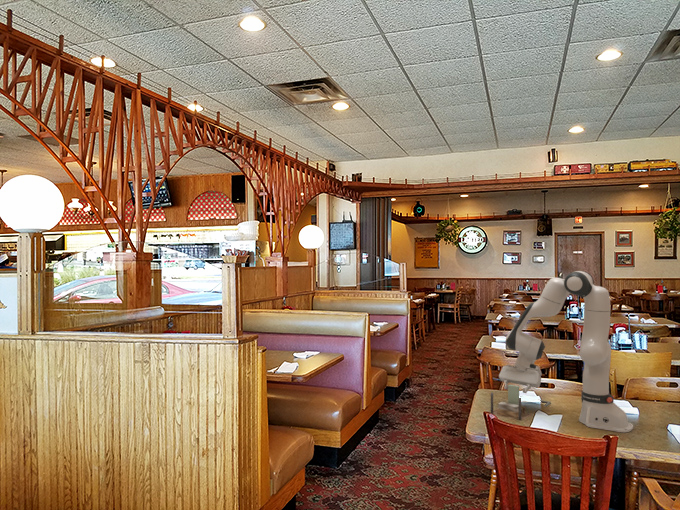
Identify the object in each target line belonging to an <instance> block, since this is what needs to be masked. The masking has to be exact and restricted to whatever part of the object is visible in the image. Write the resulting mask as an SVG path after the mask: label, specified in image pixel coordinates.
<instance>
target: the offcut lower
mask: <svg viewBox="0 0 680 510" xmlns="http://www.w3.org/2000/svg"><path fill="white" fill-rule="evenodd" d="M496 410H497V414H500V415H505V416H509V417H514V418H518V417H519V411H518V412H511V411H507V410H502V409H498V407H497V408H496Z"/></svg>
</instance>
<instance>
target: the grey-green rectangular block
mask: <svg viewBox="0 0 680 510" xmlns="http://www.w3.org/2000/svg"><path fill="white" fill-rule="evenodd" d="M507 385H508V390H507V403H510V404H515V405H519V396H520V385H516V384H507Z"/></svg>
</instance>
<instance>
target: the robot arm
mask: <svg viewBox="0 0 680 510" xmlns="http://www.w3.org/2000/svg"><path fill="white" fill-rule="evenodd" d="M594 282H595V281H594V278H593V276H592V275H591V274H590V273H589V272H587V271H584V270H575V271H573V272H570V273H568V274H567V275H566V276H565V278H561V277H551V278H550V279H549V280H548V281H547V283H546V285H545V286H544V288H543V289H542V292H541V294H540V296H539V298H538V299H537V300H536V301H534V302H530V303H529V304H528V305H527V306H526V308H525V309H524V310H523V312H522V314H521V315H520V317H519V319H518V320H517V322H516V323H515V324H514V326H513V328H512V329H511V330H510V331H509V332H508V334H507V335H506V337H505V344H506V346H507V348H508V349H509V350H513V351H517V352H518V356H517V358H516V360H515V363H514V364H513V365H510V364H506V365H503V366H502V368H501V370H500V372H499V374H498V379H499V380H500V381H501V382H504V386H503V387H504V390H507V391H508V385H509V383H510V384H513V385H519V386H525V387H523V388H522V393H523V394H528V391H529V390H531V389H532V388H536V389H538V388H539V387H540V386H541V383H542V377H541V376H542V375H543V373H542V370H541V369H540V367H539V365H537V364H535V362H536V361H537V360H539V359H541V358H542V357H543V354H544V353H543V352H544V350H545V348H546V345H545V342H544V341H543V340H541V339H540V338H537V337H535V336H531V335H530V334H527V333H524V332H523V329H524V328H525V326H526V325H527V323H528V321H530V319H532V318H537V317H541V318H543V317H544V318H548V317H549V318H550V317H554V316H557V315H558V314H560V312H561V310H562V308H563V306H564V305H565V301H566V299H567V297H568V296H569V295H570V294H572V295H574V296H576V297H581V298H583V301H584V305H583V307H584V308H583V309H584V310H583V311H584V312H583V328H582V332H581V333H582V335H581V338H580V339H581V341H580V349H579V357H580V359H581V360H582V362H583V363H584V364H583V371H582V390H581V392H580V393H581V396H580V398H581V399H580V400H581V411H580V415H579V416H578V417H579V418H578V422H579V423H581V424H584V425H585V426H586V427H588V428H592V429H597V430H598V429H599V430H606V431H612V432H618V433H629V432H631V431H632V430H634V425H633V424H632V423H631V422H628V421H629V420H628V415H627V413H626V412H625V410H623V409H622V408H620V406H618V405H617V404H616V403H615V402H614V398H615V395H612V394H611V393H610V371H611V369H610V368H611V362H612V361H611V358H612V357H611V356H612V347H611V344H610V343H609V335H610V334H609V333H610V327H611V297H610V292H609V291H608V289H607V288H605V287H603V286H599V285H595V284H594Z"/></svg>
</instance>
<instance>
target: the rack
mask: <svg viewBox="0 0 680 510" xmlns="http://www.w3.org/2000/svg"><path fill="white" fill-rule="evenodd" d="M490 413H492V414H491V415H496V416H498V417H500V416H501V417H504V418H509V419H513V420H518V421H523V420H525V419H527V418H528V417H530V416H532V413H529V412H528V413H527V412H526V406H523V405H522V402H521V398H519V417H518V418H514V417H509V416H505V415H500V414H497V409H495V410H494V392H490Z"/></svg>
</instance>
